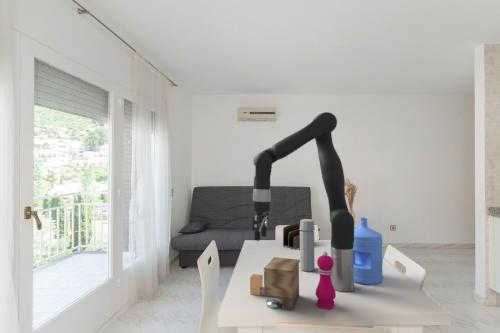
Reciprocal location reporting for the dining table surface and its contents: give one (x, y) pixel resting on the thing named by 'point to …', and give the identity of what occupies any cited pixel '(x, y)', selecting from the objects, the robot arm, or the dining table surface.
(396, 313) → the dining table surface
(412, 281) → the dining table surface
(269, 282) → the brown wooden block
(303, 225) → the water bottle
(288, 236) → the letter holder
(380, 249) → the water jug
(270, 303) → the token
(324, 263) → the pepper mill
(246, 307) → the dining table surface
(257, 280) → the tan grey l-shaped piece
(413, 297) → the dining table surface
